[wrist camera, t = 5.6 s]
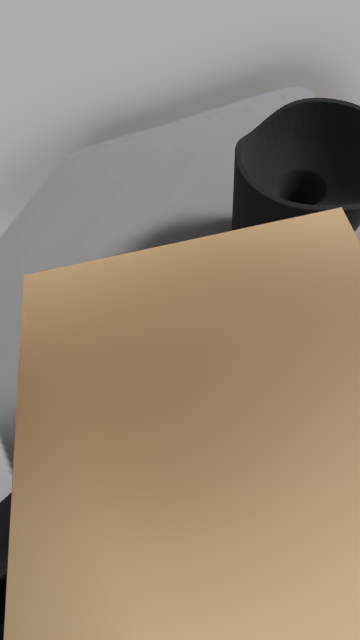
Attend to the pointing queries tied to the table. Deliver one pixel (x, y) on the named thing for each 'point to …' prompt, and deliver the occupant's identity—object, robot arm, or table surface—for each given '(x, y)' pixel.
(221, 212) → the table surface
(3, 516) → the robot arm
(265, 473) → the oak pillar
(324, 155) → the pen holder
